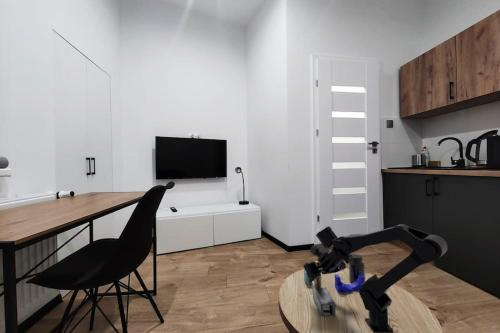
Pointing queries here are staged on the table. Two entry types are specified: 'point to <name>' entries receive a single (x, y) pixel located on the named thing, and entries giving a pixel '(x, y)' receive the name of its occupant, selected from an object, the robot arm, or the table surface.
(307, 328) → the table surface
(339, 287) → the cable clip
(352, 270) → the supplement bottle
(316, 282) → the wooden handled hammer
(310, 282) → the teal block with slot
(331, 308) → the gray rectangular tube
